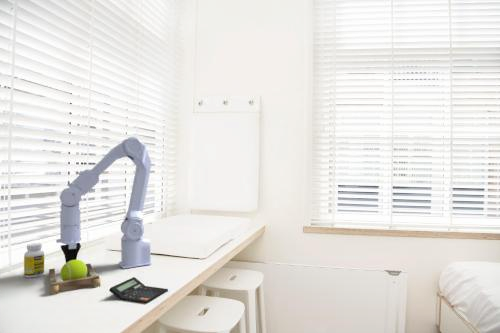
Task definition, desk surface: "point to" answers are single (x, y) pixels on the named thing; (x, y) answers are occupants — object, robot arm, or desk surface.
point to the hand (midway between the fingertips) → (70, 267)
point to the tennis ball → (73, 270)
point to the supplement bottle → (34, 260)
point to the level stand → (73, 281)
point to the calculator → (136, 291)
